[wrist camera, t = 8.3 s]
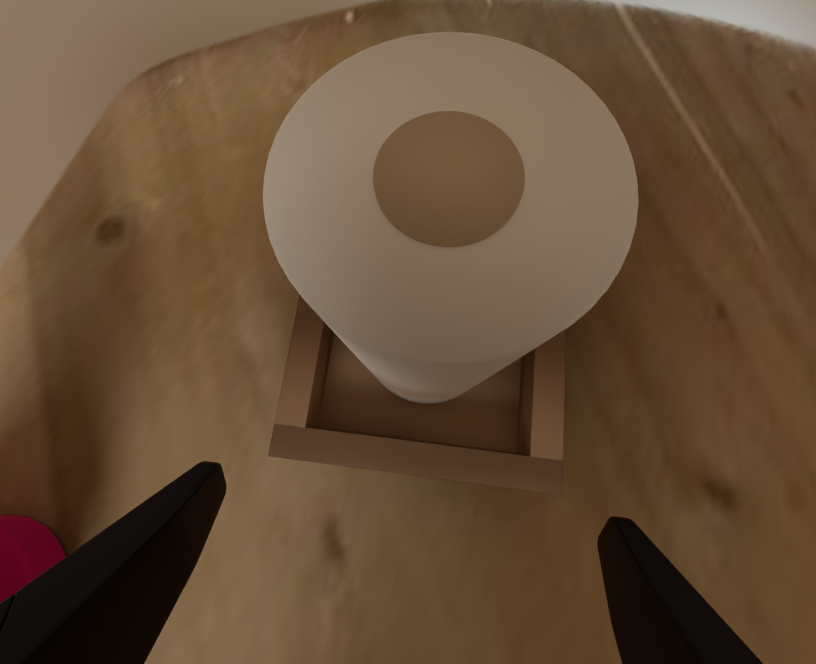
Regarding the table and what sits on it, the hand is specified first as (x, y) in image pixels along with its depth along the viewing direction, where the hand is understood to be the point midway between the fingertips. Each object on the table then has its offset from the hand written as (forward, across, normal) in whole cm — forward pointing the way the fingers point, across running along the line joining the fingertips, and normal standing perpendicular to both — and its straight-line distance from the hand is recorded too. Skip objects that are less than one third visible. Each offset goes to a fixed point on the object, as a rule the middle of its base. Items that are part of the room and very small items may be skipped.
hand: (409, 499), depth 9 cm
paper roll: (+9, 0, +1) cm, 9 cm away
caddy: (+10, 0, +2) cm, 10 cm away
